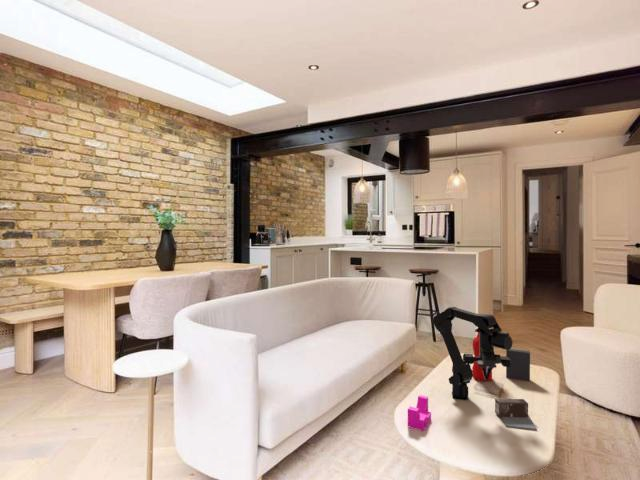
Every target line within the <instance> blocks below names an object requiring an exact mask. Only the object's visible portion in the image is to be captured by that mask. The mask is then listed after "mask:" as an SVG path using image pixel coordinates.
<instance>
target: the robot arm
mask: <svg viewBox="0 0 640 480" xmlns="http://www.w3.org/2000/svg"><path fill="white" fill-rule="evenodd" d="M455 318H456V319H460V320H462V321H467V322H469V323H472V324H473V325H474V326H475V327H477V328H476V329H475V330H474V332H475V333H478V332H479V357H475V356H474V353H473V354H472V353H463V354H461V352H460V349H459V347H458V344H457V342H456V338H455V337H454V336H455V335H454V333H453V331H452V330H453V320H455ZM432 323H433V326H434V328H435V329H436V330H437V332H439V333H440V335H441V337H442V339H443V341H444V344H445V347H446V349H447V351H448V354H449V357H450V361H451V362H452V367H451V372H452V375H451V376H450V377H449V378H448V383H449V384H450V385H452V386H451V389H452V390H451V396H452V399H456V400H457V399H458V400H468V399H469V387H468V384H470V383H471V380H472V379H473V378H474V377H473V373H472V372H473V371H472V366H471V365H473V363H474V361H477V364H478V366H481V368H482V371H483V374H484V377H485V380H488V378H489V375H490V373H491V371H492V372H493V369H494V368H497V365H498V364H499V365H501V366H503V368H505V367H511V360H510V359H509V358H508V357H506V356H503V355H502V356H501V354H496V353H495V348H497V349H502V350H505V351H506V350H510V349H512V346H513V339H512V337H511V336H510V333H508V332H503V330H502V328H501V327H500V325H499V324H498V321H497V320H496V317H495V316H494V315H492V314H489V313H487V314H486V313H477V312H472V311H469V310H465V309H461V308H458V307H457V306H451V307H447V308H446V309H445V310H443V311H442V312H440V313H438V314H436V315H434V316H433V319H432ZM486 366H487V369H486Z"/></svg>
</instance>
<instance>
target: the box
mask: <svg viewBox="0 0 640 480" xmlns="http://www.w3.org/2000/svg"><path fill="white" fill-rule="evenodd" d="M494 413H495V415H497V416H498V417H501V418H502V417H528V415H529V403H528V402H527V401H526V400H525V399H524V398H495V399H494Z"/></svg>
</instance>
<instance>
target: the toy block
mask: <svg viewBox="0 0 640 480" xmlns="http://www.w3.org/2000/svg"><path fill="white" fill-rule="evenodd" d="M429 421H430V422H431V421H432V411H429V396H425V395H421V394H419V395H418V396H417V402H416V407H414V406H409V407H408V408H407V427H408V426H410V427H409V428H411V427H413V428H412V429H414V428H417V429H416V430H418V429H420V430H419V431H421V430H423V431H422V432H424V431H425V430H426V427H428V425H429V423H430V422H429ZM427 424H428V425H427Z"/></svg>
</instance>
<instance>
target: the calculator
mask: <svg viewBox="0 0 640 480" xmlns="http://www.w3.org/2000/svg"><path fill="white" fill-rule="evenodd" d="M505 351H506V356H505V357H508V358H509V359H510V360H511V367H506V368H505V371H506V373H505V377H506V379H512V380H518V381H524V382H525V381H526V382H530V381H531V351H530V350H522V349H513V348H511V349H510V350H505Z"/></svg>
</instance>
